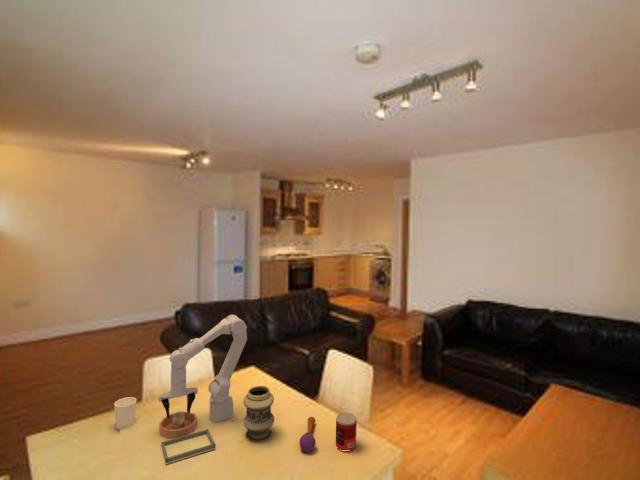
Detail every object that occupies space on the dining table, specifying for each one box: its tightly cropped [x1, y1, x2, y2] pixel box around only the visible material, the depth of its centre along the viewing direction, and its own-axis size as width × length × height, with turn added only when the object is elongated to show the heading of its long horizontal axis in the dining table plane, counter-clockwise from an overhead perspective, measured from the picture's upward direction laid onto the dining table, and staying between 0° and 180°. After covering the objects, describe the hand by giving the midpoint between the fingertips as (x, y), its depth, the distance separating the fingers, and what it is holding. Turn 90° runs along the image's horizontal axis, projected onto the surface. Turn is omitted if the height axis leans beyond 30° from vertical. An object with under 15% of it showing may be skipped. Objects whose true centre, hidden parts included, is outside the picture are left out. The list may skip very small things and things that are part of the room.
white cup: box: [113, 396, 137, 431], centre depth 146 cm, size 8×8×10 cm
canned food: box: [335, 412, 357, 451], centre depth 136 cm, size 8×8×11 cm
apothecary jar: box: [243, 385, 275, 443], centre depth 142 cm, size 12×12×18 cm
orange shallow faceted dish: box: [158, 411, 198, 439], centre depth 144 cm, size 14×14×4 cm
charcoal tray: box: [160, 429, 217, 467], centre depth 132 cm, size 17×11×2 cm, turn 121°
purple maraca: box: [298, 416, 316, 453], centre depth 140 cm, size 6×6×20 cm
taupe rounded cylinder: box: [173, 411, 185, 430], centre depth 144 cm, size 4×4×6 cm
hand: (178, 414), depth 143 cm, fingers open, 7 cm apart
